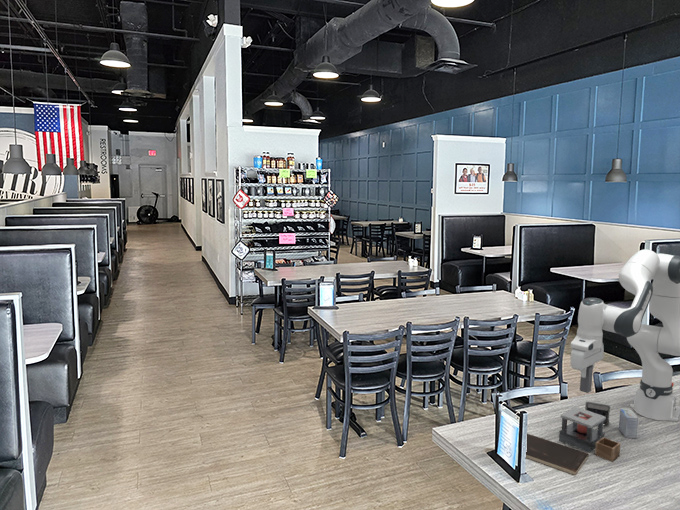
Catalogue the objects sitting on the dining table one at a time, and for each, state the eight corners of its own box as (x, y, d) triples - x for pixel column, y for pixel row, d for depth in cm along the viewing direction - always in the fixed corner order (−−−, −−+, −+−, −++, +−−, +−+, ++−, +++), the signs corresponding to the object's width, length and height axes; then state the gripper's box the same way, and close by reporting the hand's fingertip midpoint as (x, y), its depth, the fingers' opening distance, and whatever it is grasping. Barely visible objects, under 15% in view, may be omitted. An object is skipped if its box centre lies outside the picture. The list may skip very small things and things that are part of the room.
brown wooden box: (602, 449, 192) (603, 437, 192) (619, 456, 188) (620, 443, 187) (594, 454, 188) (595, 442, 188) (612, 461, 184) (613, 449, 183)
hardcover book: (575, 477, 175) (575, 471, 175) (510, 454, 190) (510, 448, 189) (588, 458, 187) (588, 452, 187) (526, 437, 202) (526, 432, 201)
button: (579, 427, 200) (580, 415, 199) (588, 431, 197) (589, 418, 197) (575, 430, 198) (576, 418, 197) (584, 434, 195) (585, 421, 194)
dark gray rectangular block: (583, 388, 197) (585, 364, 196) (591, 391, 195) (593, 366, 194) (579, 390, 195) (581, 365, 194) (587, 393, 193) (589, 367, 192)
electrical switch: (608, 422, 214) (610, 402, 212) (609, 428, 210) (610, 408, 208) (584, 417, 218) (585, 398, 216) (584, 423, 214) (585, 404, 212)
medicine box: (637, 438, 200) (639, 418, 199) (624, 437, 201) (626, 417, 200) (630, 429, 208) (631, 409, 207) (618, 428, 209) (620, 408, 208)
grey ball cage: (573, 430, 207) (575, 406, 205) (603, 442, 197) (605, 416, 196) (558, 440, 199) (560, 414, 197) (589, 452, 190) (592, 426, 188)
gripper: (592, 333, 201) (590, 367, 203) (568, 344, 188) (565, 379, 190) (609, 337, 197) (606, 371, 199) (585, 348, 184) (582, 384, 186)
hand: (586, 375), depth 194 cm, fingers closed on dark gray rectangular block, 3 cm apart
